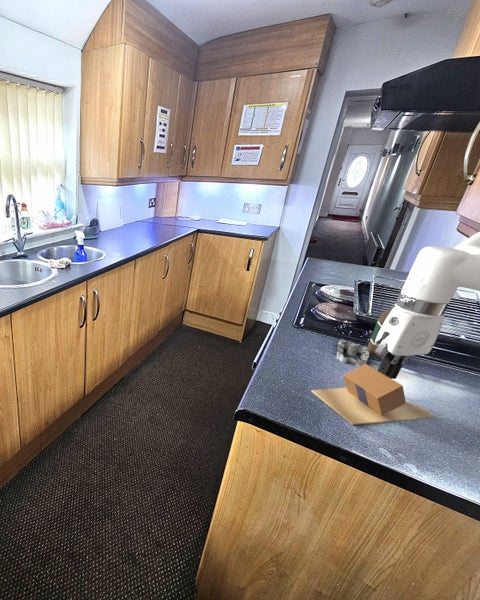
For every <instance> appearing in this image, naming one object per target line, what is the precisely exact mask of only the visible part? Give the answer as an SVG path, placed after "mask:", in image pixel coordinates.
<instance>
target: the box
mask: <svg viewBox="0 0 480 600" xmlns="http://www.w3.org/2000/svg"><path fill="white" fill-rule="evenodd" d="M377 370H378V369H375V368H374V367H371V366H370V365H368V364H367V363H366V364H364V365H362V366H360V367H358V366H357V367H356V368H354V369H352V370H351V371H348V372H347V373H345V374H343V376H342V377H343V380H344V384H345V388H347V391H348V392H349V393H351V394H352V395H353V396H355V397H356V398H358V399H359V400H360V401H361V402H363V403H364V404H365V405H367V406H369V407H370V408H372V409H373V410H375V411H376V412H377V413H379V414H380V415H384V414H386V413H388V412H390V411H392V410H394V409H396V408H398V407H400V406H402V405H404V404H406V402H407V400H406V396H405V390H404V386H403V385H402V384H401V383H399V382H397V381H396V380H395V379H391V378H389V377H387V376H385V375H384V374H382V373H380V372H379V371H377Z"/></svg>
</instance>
